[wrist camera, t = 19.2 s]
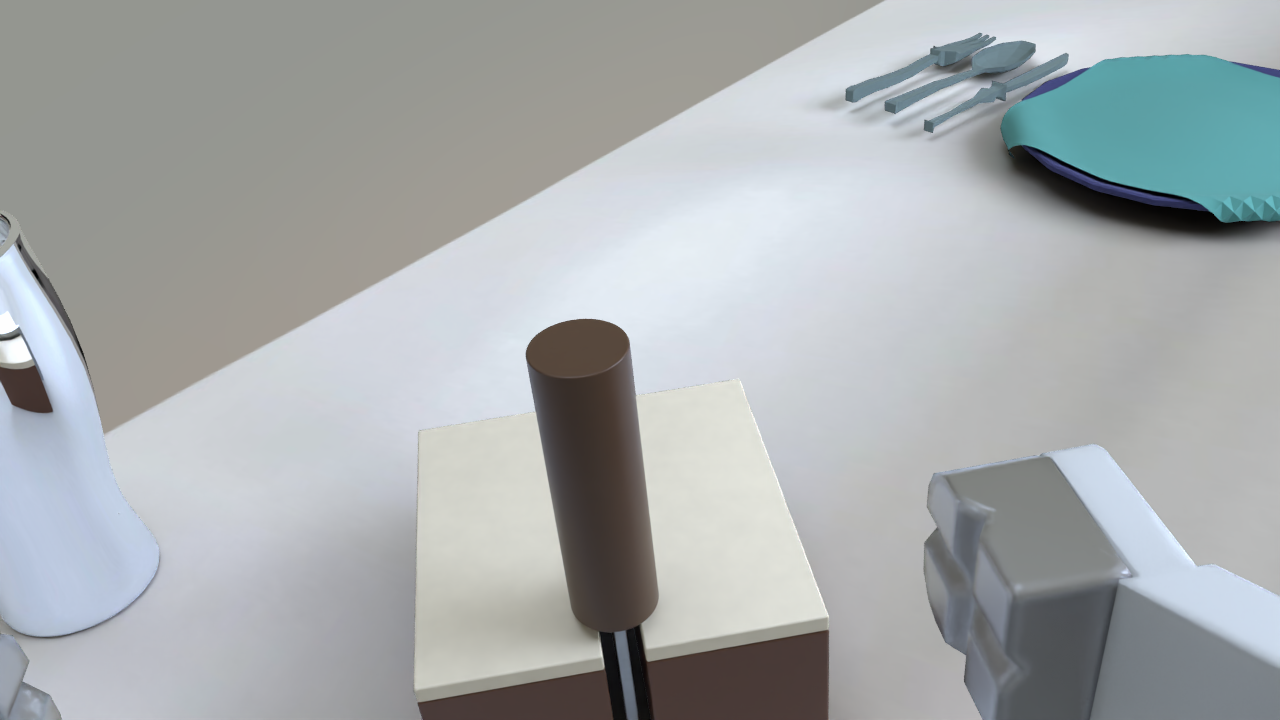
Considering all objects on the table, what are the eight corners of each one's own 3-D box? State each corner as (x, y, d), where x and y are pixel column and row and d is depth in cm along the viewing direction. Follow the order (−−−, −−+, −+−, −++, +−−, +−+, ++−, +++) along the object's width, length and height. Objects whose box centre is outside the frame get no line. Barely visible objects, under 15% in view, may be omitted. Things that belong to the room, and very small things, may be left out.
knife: (680, 756, 36) (636, 368, 28) (599, 771, 36) (529, 385, 27) (625, 491, 47) (580, 149, 38) (562, 502, 47) (502, 160, 38)
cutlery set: (1272, 282, 55) (1283, 240, 54) (817, 118, 75) (817, 84, 74) (1454, 144, 65) (1467, 105, 64) (1006, 31, 85) (1009, 0, 84)
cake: (828, 745, 37) (829, 616, 33) (452, 815, 36) (412, 690, 32) (745, 497, 46) (739, 377, 43) (448, 547, 46) (417, 429, 42)
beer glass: (35, 678, 42) (-170, 338, 33) (-40, 591, 46) (-238, 269, 37) (204, 567, 46) (61, 237, 37) (122, 496, 50) (-24, 185, 41)
